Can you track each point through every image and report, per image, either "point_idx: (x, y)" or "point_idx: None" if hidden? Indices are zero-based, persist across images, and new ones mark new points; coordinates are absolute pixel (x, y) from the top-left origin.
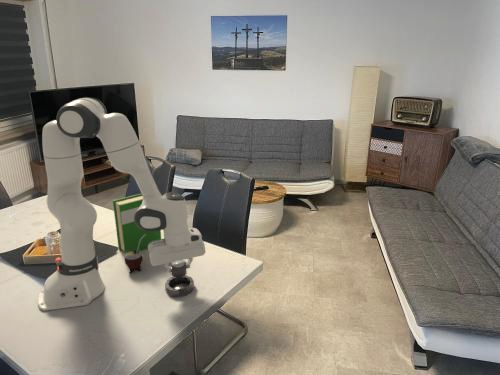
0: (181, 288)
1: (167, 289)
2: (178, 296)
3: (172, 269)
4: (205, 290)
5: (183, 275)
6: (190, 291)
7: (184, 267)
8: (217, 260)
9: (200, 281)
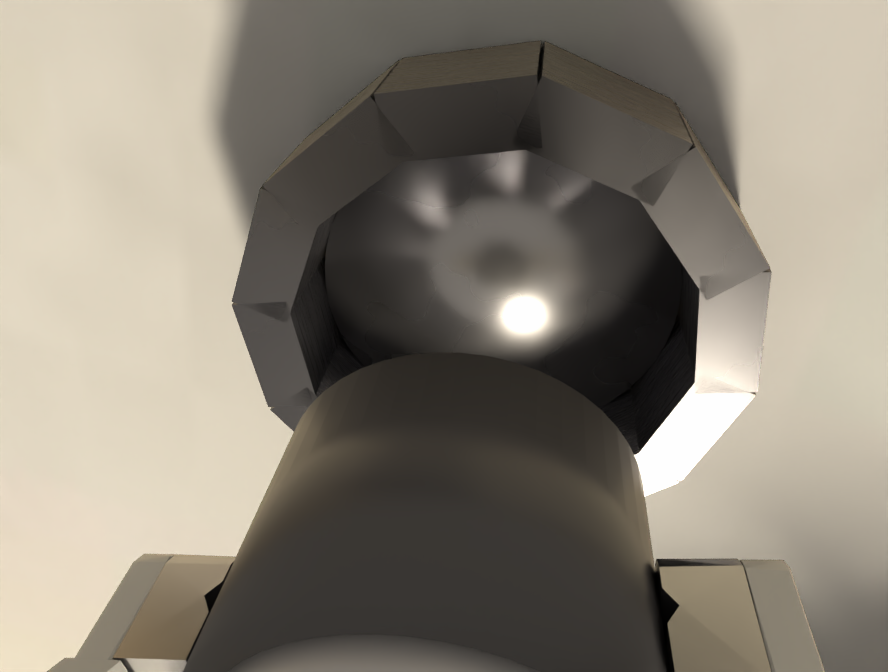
0: (473, 262)
1: (754, 242)
2: (565, 53)
3: (654, 630)
4: (85, 107)
5: (360, 379)
6: (327, 121)
7: (239, 585)
8: (23, 621)
9: (183, 351)
